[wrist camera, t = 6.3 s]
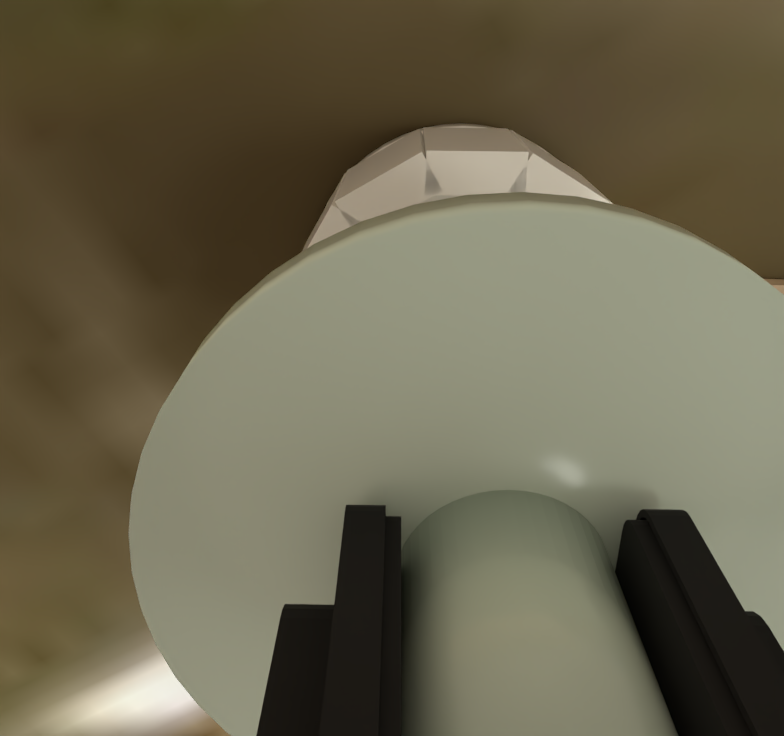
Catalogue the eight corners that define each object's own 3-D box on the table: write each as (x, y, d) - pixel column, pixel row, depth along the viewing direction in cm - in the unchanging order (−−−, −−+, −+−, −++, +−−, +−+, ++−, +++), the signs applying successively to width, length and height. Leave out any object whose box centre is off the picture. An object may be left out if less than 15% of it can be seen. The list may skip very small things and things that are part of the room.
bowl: (620, 125, 21) (678, 153, 17) (583, 404, 25) (622, 489, 21) (305, 121, 21) (277, 148, 17) (315, 400, 25) (295, 483, 21)
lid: (947, 197, 9) (1480, 371, 5) (760, 772, 14) (940, 1150, 9) (102, 185, 9) (-187, 344, 5) (188, 762, 14) (82, 1131, 9)
